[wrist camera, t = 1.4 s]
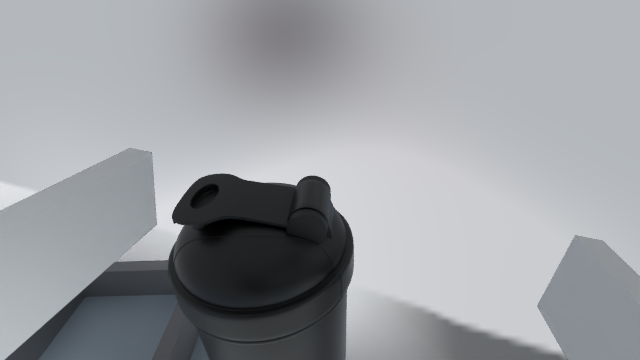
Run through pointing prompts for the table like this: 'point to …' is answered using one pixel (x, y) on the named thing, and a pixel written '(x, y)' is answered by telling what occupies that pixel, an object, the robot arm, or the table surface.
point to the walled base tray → (119, 321)
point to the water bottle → (263, 268)
